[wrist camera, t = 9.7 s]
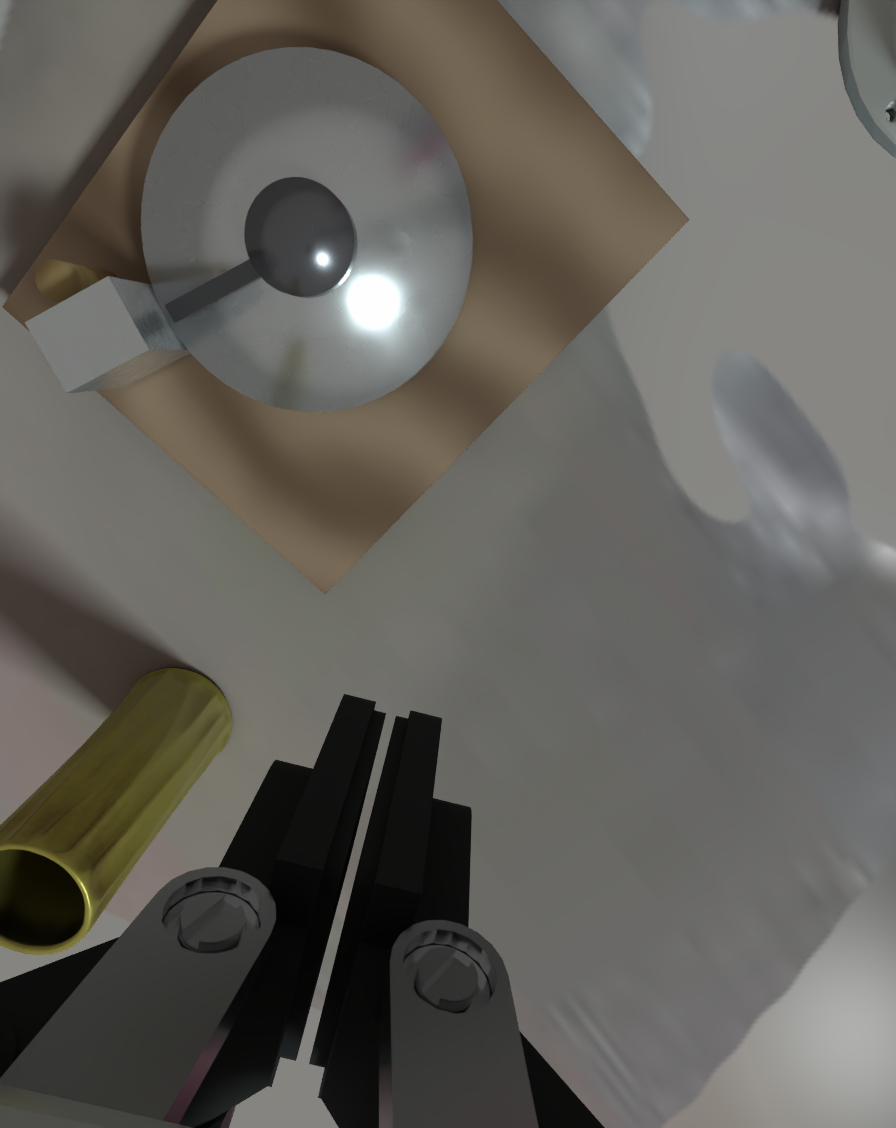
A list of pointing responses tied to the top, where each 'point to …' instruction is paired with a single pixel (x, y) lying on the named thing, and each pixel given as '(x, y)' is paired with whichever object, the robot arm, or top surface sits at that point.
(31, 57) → the top surface
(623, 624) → the top surface
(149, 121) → the base plate
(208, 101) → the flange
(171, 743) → the vase
